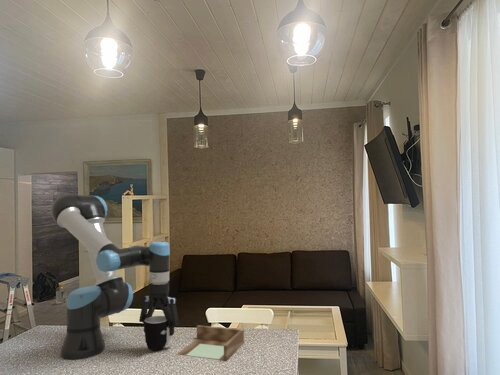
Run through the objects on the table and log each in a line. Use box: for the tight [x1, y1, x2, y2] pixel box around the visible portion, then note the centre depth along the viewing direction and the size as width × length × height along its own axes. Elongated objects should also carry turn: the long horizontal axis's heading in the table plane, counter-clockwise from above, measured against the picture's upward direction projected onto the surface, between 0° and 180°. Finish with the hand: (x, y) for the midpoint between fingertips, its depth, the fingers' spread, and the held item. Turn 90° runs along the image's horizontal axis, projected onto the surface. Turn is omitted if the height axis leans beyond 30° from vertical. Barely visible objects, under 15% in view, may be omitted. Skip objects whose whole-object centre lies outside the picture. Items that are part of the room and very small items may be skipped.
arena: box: [176, 325, 245, 362], centre depth 130 cm, size 20×17×6 cm
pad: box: [186, 344, 224, 361], centre depth 127 cm, size 13×11×1 cm
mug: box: [143, 315, 168, 351], centre depth 133 cm, size 12×9×10 cm
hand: (158, 342), depth 132 cm, fingers closed on mug, 9 cm apart
